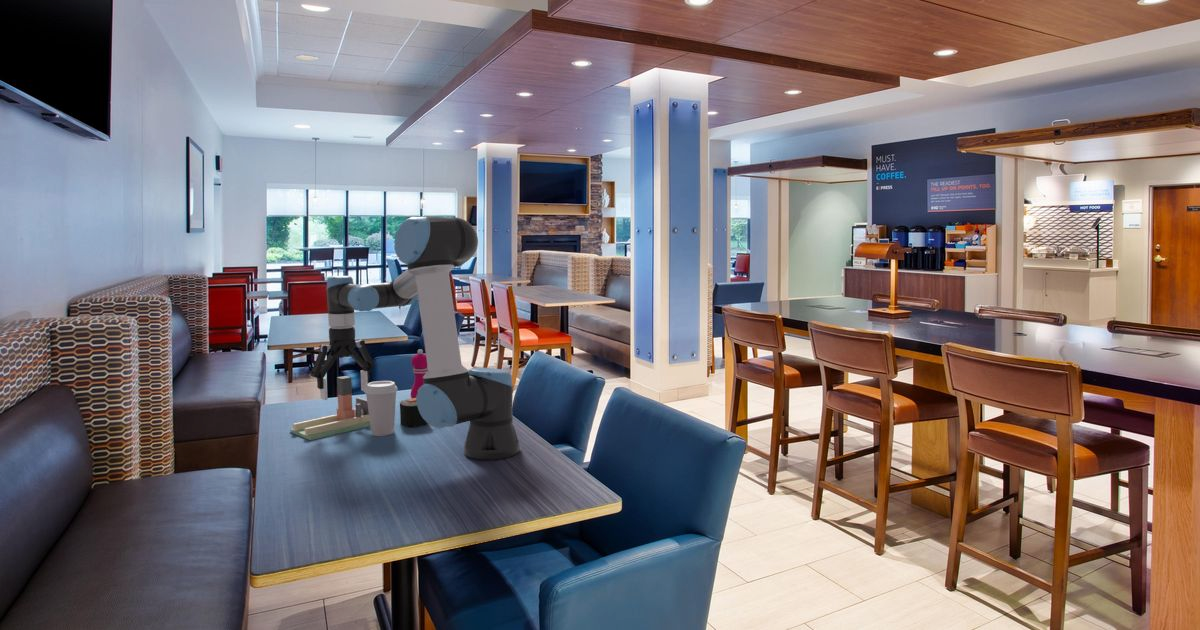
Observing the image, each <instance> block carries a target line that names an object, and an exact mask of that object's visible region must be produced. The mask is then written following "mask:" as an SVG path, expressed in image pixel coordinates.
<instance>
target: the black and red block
mask: <svg viewBox="0 0 1200 630" xmlns="http://www.w3.org/2000/svg"><path fill="white" fill-rule="evenodd" d="M336 387H337V390H336V391H337V408H336V414H337V421H340V420H344V419H349V418H353V417H354V408H353V395H352V390H353V389H352V377H351V376H349V375H344V376H343V375H342V376H337V377H336Z"/></svg>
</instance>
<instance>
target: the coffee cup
mask: <svg viewBox="0 0 1200 630" xmlns="http://www.w3.org/2000/svg"><path fill="white" fill-rule="evenodd" d="M398 391H399V388H398V387H397V385H396V383H395V381H392V380H376V381H371V382H368V384H367V387H366V388H365V390H364V391H363V392H364V394H365V396H366V399H367V404H368V412H369V419H370V426H369V427H370V433H371V435H372V436H375V437H383V436H390V435H392V434H394V432H395V417H396V401H397V400H396V399H397V392H398Z"/></svg>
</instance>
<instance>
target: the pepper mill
mask: <svg viewBox="0 0 1200 630" xmlns="http://www.w3.org/2000/svg"><path fill="white" fill-rule="evenodd" d="M423 352H424V350H423V349H422V348H421V349H420V348H419V349H418V350H417V353H416V354H414V355H413V356H412V358H411V361H410V362H411V365H412V367H413V369H412V370H413V371H412V372H413V374H414V383H413V384H412V385H413V386H412V387H411V390H410V398H412V399H413V398H416V396H417V394H418V389H419V388H420V387H421V386H422V385H424V381H423V376H424V375H425V374H426V372H427V371H428V365H427V358H426V353H423Z"/></svg>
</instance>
